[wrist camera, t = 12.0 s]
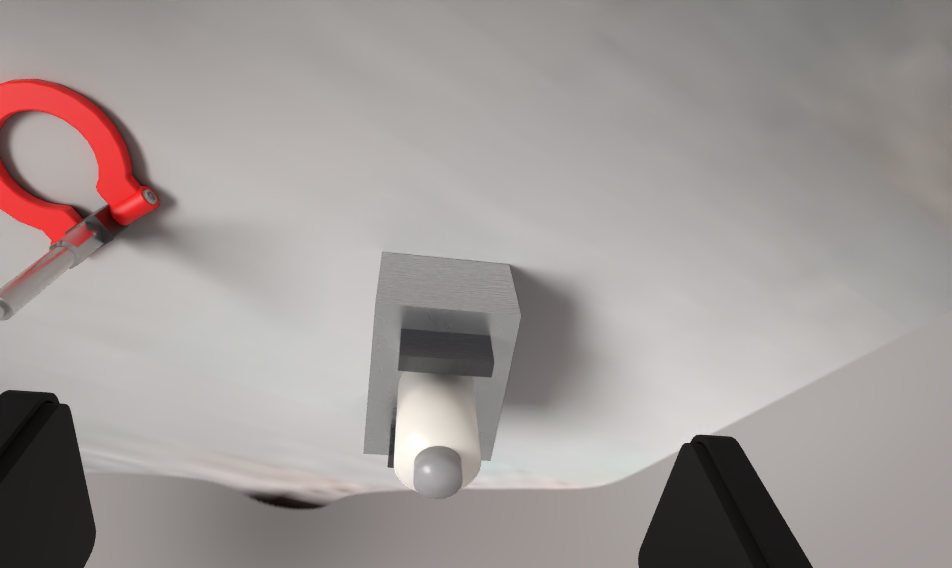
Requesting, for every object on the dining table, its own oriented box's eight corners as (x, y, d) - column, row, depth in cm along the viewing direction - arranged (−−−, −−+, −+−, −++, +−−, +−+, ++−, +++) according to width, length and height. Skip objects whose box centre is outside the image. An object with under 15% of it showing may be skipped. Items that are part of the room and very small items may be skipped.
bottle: (401, 355, 36) (396, 445, 30) (478, 360, 37) (489, 450, 30) (395, 414, 38) (389, 511, 32) (468, 419, 39) (476, 514, 33)
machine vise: (382, 252, 40) (371, 328, 32) (509, 264, 41) (527, 341, 33) (368, 417, 46) (357, 512, 39) (478, 424, 47) (488, 518, 40)
